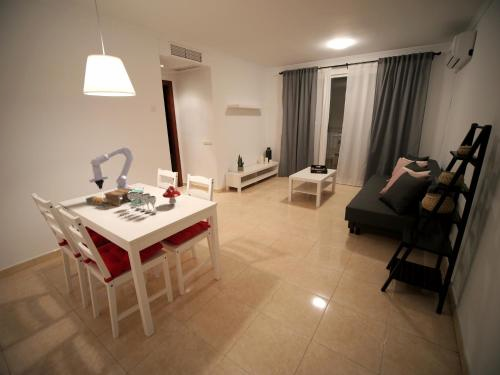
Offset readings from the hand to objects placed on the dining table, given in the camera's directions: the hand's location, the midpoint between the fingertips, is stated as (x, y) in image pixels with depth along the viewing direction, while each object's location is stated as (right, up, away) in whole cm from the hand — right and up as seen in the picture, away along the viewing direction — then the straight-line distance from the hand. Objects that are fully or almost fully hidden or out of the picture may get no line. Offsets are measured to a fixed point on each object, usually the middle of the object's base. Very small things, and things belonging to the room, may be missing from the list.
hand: (100, 188), depth 194 cm
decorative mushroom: (+66, -12, -11) cm, 68 cm away
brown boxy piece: (+21, -11, -6) cm, 25 cm away
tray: (+3, -12, -7) cm, 15 cm away
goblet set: (+47, -16, -23) cm, 55 cm away
